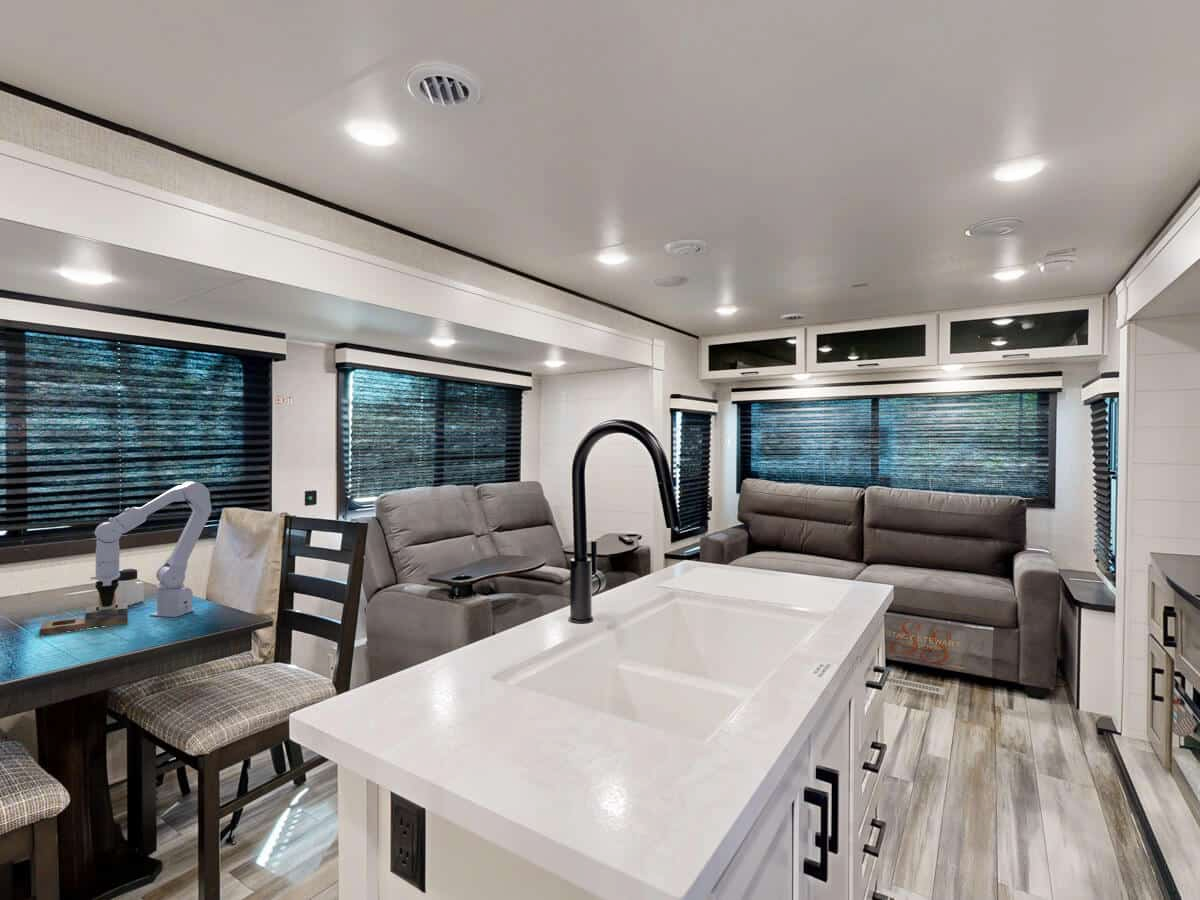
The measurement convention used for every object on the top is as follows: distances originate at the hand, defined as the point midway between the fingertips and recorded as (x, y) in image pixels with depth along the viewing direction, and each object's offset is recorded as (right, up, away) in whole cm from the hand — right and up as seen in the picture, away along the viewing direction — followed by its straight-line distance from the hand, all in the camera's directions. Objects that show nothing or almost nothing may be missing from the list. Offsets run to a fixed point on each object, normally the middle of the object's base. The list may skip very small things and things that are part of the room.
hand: (107, 604), depth 186 cm
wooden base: (-4, -6, -3) cm, 8 cm away
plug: (0, -3, 0) cm, 3 cm away
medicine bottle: (-12, -6, +22) cm, 26 cm away
